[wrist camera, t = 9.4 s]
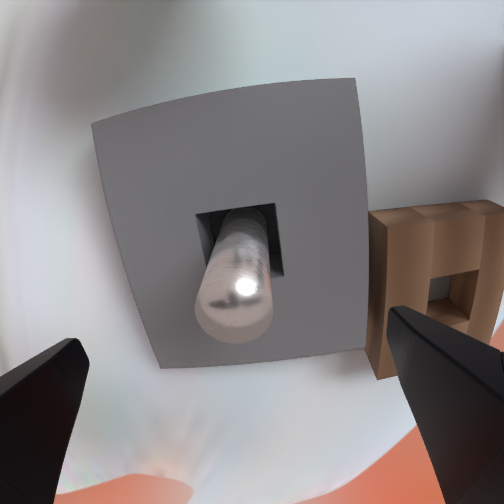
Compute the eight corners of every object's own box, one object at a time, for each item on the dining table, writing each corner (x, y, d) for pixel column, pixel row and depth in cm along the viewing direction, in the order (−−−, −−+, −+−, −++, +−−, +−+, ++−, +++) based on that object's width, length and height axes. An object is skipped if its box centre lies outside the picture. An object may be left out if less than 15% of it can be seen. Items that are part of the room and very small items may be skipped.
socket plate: (338, 86, 15) (355, 77, 12) (353, 318, 20) (365, 347, 17) (116, 123, 15) (91, 123, 13) (171, 339, 20) (160, 368, 18)
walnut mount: (487, 199, 16) (515, 212, 14) (468, 326, 20) (487, 348, 17) (368, 211, 17) (387, 227, 14) (365, 351, 21) (377, 380, 18)
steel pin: (263, 203, 17) (267, 272, 9) (269, 245, 18) (277, 339, 10) (219, 209, 17) (186, 282, 9) (226, 250, 18) (203, 346, 10)
